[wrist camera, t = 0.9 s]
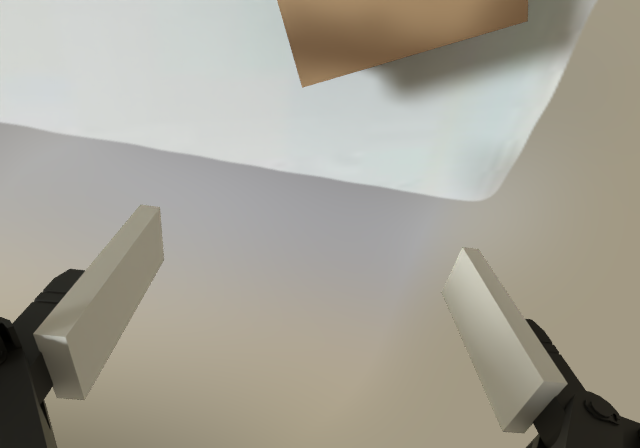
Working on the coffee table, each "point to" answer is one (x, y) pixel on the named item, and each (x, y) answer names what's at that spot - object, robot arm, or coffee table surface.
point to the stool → (384, 30)
